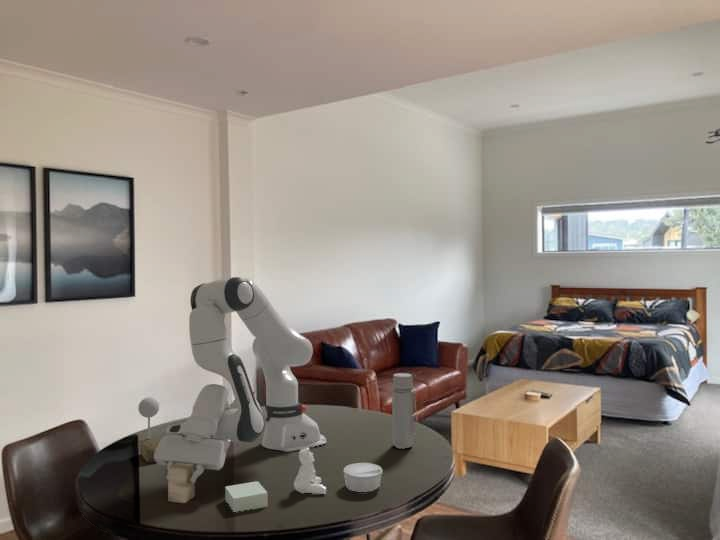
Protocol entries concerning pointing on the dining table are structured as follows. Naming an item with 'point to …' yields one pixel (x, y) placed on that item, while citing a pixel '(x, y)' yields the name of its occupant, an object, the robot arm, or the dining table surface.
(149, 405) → the lollipop
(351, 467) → the ramekin
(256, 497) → the sage block
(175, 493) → the birch block
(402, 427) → the water bottle
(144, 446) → the stone block
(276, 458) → the dining table surface
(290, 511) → the dining table surface
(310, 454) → the seated beast figurine
